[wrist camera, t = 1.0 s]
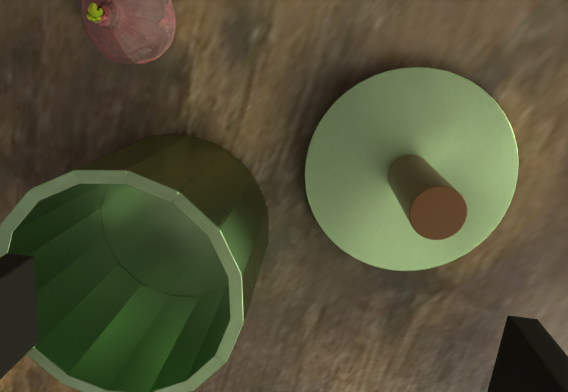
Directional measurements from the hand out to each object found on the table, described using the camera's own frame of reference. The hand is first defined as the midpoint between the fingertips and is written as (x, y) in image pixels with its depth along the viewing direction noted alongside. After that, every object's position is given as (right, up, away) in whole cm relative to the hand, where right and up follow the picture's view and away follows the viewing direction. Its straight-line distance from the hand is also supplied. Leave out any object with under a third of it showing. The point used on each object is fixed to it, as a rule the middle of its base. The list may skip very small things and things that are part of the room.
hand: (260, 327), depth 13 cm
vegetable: (-9, +17, +21) cm, 28 cm away
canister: (-8, +1, +25) cm, 27 cm away
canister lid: (+10, +5, +22) cm, 25 cm away
